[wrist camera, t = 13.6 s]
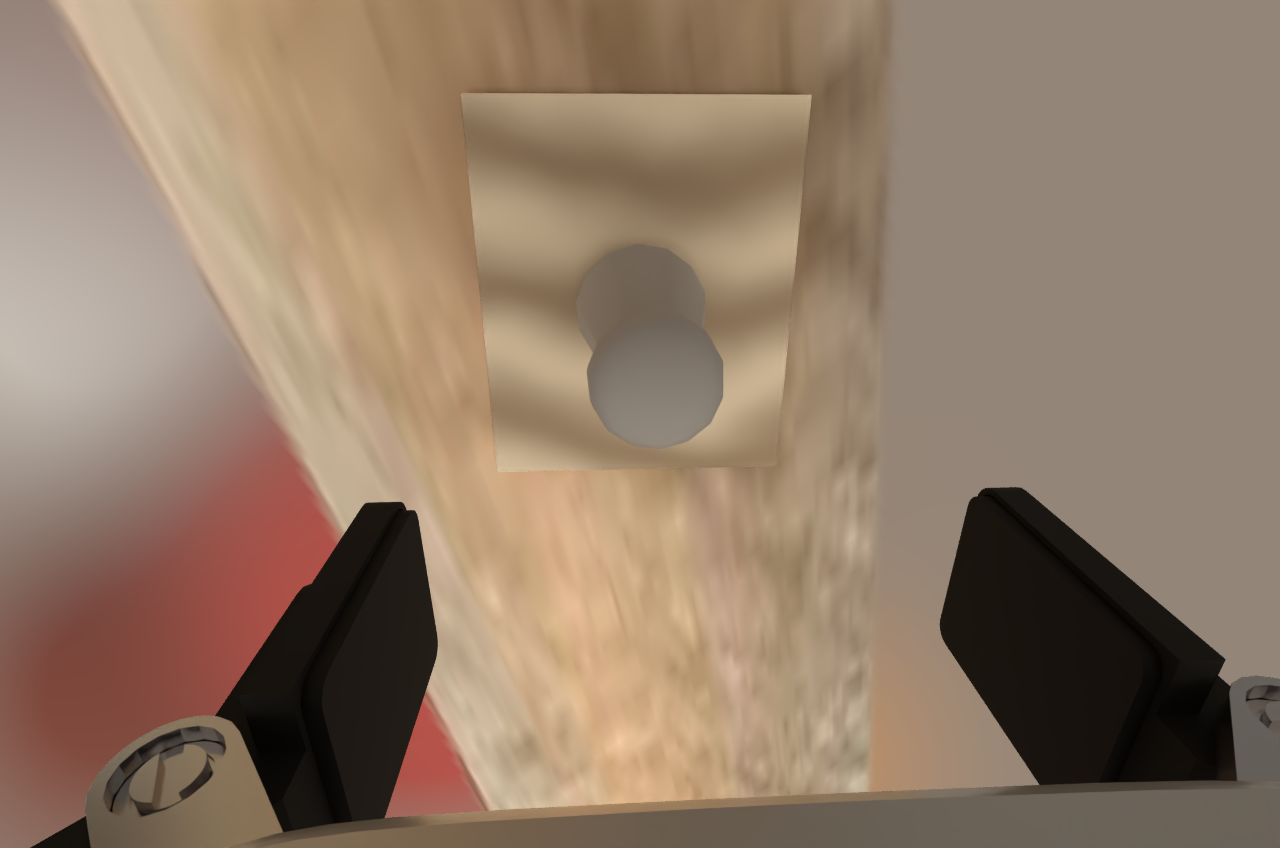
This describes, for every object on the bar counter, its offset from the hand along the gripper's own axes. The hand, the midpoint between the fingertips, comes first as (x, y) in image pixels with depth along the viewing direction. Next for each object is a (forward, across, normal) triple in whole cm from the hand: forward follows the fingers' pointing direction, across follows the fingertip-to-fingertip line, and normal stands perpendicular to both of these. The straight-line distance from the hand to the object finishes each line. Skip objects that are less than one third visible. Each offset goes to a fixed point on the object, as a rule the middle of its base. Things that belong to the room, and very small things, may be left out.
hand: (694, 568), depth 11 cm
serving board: (+23, 0, +1) cm, 23 cm away
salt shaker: (+22, 0, 0) cm, 22 cm away
